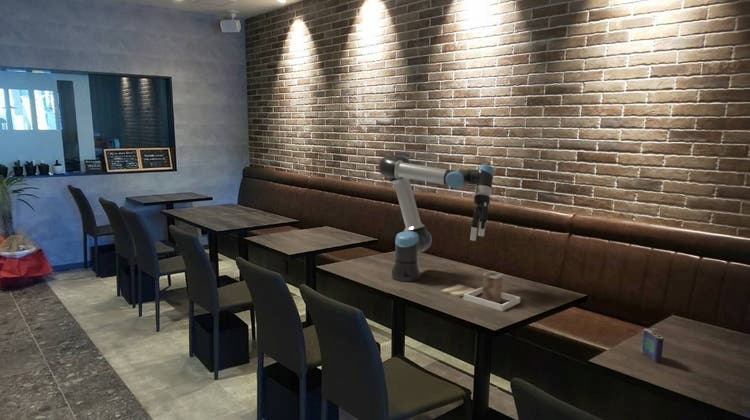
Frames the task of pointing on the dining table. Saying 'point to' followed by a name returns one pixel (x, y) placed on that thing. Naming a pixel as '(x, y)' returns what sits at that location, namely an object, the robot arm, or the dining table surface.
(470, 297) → the white rectangular frame
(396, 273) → the robot arm
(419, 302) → the dining table surface
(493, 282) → the canister
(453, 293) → the board
